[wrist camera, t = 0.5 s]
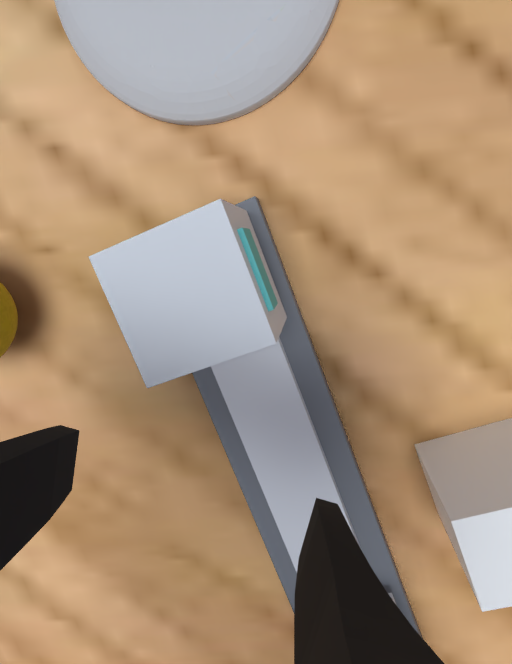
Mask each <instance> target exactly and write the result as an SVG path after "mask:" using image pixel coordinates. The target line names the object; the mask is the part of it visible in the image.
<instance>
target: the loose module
mask: <svg viewBox="0 0 512 664" xmlns="http://www.w3.org/2000/svg"><path fill="white" fill-rule="evenodd" d="M414 446H415V449H416V451H417V454H418V457H419V460H420V463H421V466H422V469H423V472H424V474H425V477H426V480H427V483H428V486H429V489H430V492H431V495H432V497H433V500H434V503H435V506H436V509H437V512H438V514H439V516H440V519H441V521H442V523H443V525H444V528H445V530H446V532H447V534H448V537H449V539H450V541H451V543H452V545H453V548H454V550H455V552H456V554H457V557H458V559H459V561H460V563H461V566H462V568H463V570H464V572H465V574H466V577H467V579H468V581H469V583H470V586H471V588H472V590H473V592H474V595H475V597H476V599H477V601H478V604H479V606H480V608H481V610H482V612H483V611H489V610H494V609H500V608H505V607H510V606H512V418H509V419H506V420H502V421H498V422H495V423H491V424H487V425H484V426H480V427H476V428H473V429H469V430H465V431H462V432H458V433H454V434H451V435H447V436H443V437H440V438H436V439H432V440H429V441H425V442H421V443H418V444H414Z"/></svg>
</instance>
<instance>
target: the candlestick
mask: <svg viewBox="0 0 512 664" xmlns="http://www.w3.org/2000/svg"><path fill="white" fill-rule="evenodd" d="M54 1H55V4H56V8H57V11H58V14H59V17H60V20H61V22H62V25H63V28H64V30H65V32H66V34H67V36H68V39H69V41H70V42H71V44H72V46H73V48H74V50H75V51H76V53H77V54H78V56H79V58H80V59H81V61H82V62H83V63H84V65H85V66H86V68H87V69H88V70H89V71H90V73H91V74H92V75H93V76H94V77H95V78H96V79H97V80H98V82H99V83H100V84H101V85H103V86H104V87H105V88H106V89H107V90H108V91H109V92H110V93H112V94H113V95H114V96H115V97H117V98H118V99H119V100H121V101H122V102H124V103H125V104H127V105H128V106H130V107H131V108H133V109H135V110H137V111H139V112H141V113H143V114H145V115H147V116H149V117H152V118H155V119H158V120H161V121H165V122H169V123H174V124H181V125H208V124H215V123H220V122H224V121H228V120H231V119H235V118H237V117H240V116H243V115H245V114H247V113H249V112H251V111H253V110H255V109H257V108H259V107H260V106H262V105H264V104H265V103H267V102H268V101H270V100H271V99H273V98H274V97H275V96H277V95H278V94H279V93H280V92H281V91H283V90H284V89H285V88H286V87H287V86H288V85H289V84H290V83H291V82H292V81H293V80H294V79H295V78H296V77H297V76H298V75H299V74H300V73H301V71H302V70H303V69H304V68H305V66H306V65H307V64H308V62H309V61H310V60H311V58H312V57H313V55H314V54H315V52H316V51H317V49H318V47H319V46H320V44H321V42H322V41H323V39H324V37H325V35H326V33H327V31H328V29H329V26H330V24H331V22H332V19H333V17H334V14H335V11H336V9H337V6H338V2H339V0H54Z"/></svg>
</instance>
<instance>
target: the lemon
mask: <svg viewBox="0 0 512 664" xmlns="http://www.w3.org/2000/svg"><path fill="white" fill-rule="evenodd" d="M17 324H18V314H17V309H16V305H15V303H14V301H13V298H12V296H11V295H10V293H9V292H8V290H7V289H6V288H5V286H4V285H3V284H2V283H1V282H0V357H1V356H2V355H3V354H4V353H5V352H6V351H7V350H8V348H9V346H10V345H11V343H12V341H13V339H14V337H15V334H16V330H17Z"/></svg>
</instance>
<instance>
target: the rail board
mask: <svg viewBox="0 0 512 664" xmlns="http://www.w3.org/2000/svg"><path fill="white" fill-rule="evenodd" d="M89 259H90V261H91V263H92V266H93V268H94V270H95V272H96V275H97V277H98V279H99V281H100V284H101V286H102V288H103V290H104V293H105V295H106V297H107V299H108V302H109V304H110V306H111V308H112V311H113V313H114V315H115V317H116V320H117V322H118V324H119V326H120V329H121V331H122V333H123V335H124V338H125V340H126V342H127V344H128V347H129V349H130V351H131V353H132V356H133V358H134V360H135V362H136V365H137V367H138V369H139V371H140V374H141V376H142V378H143V380H144V382H145V385H146V387H147V388H149V387H152V386H155V385H158V384H161V383H164V382H167V381H170V380H172V379H175V378H178V377H181V376H184V375H187V374H190V373H192V374H193V376H194V379H195V381H196V383H197V386H198V388H199V390H200V393H201V395H202V397H203V400H204V402H205V405H206V407H207V409H208V412H209V414H210V416H211V419H212V421H213V423H214V426H215V428H216V430H217V433H218V435H219V437H220V440H221V442H222V445H223V447H224V449H225V452H226V454H227V456H228V459H229V461H230V463H231V466H232V468H233V470H234V473H235V475H236V477H237V480H238V482H239V485H240V487H241V489H242V492H243V494H244V496H245V499H246V501H247V503H248V506H249V508H250V510H251V513H252V515H253V517H254V520H255V522H256V524H257V527H258V529H259V532H260V534H261V536H262V539H263V541H264V543H265V546H266V548H267V550H268V553H269V555H270V557H271V560H272V562H273V564H274V567H275V569H276V572H277V574H278V576H279V579H280V581H281V583H282V586H283V588H284V590H285V593H286V595H287V597H288V600H289V602H290V604H291V607H292V609H293V612H294V614H295V586H296V577H297V568H298V560H299V555H300V552H301V548H302V545H303V541H304V538H305V535H306V531H307V528H308V524H309V521H310V517H311V514H312V511H313V507H314V504H315V500H316V498H319V499H322V500H326V501H329V502H333V503H336V504H338V506H339V507H340V509H341V511H342V513H343V515H344V517H345V519H346V521H347V523H348V525H349V527H350V529H351V531H352V533H353V535H354V537H355V539H356V541H357V543H358V545H359V547H360V548H361V550H362V552H363V554H364V555H365V557H366V559H367V561H368V563H369V564H370V566H371V568H372V569H373V571H374V573H375V574H376V576H377V577H378V579H379V581H380V582H381V584H382V585H383V587H384V588H385V590H386V591H387V593H388V594H389V596H390V597H391V598H392V600H393V601H394V603H395V604H396V605H397V607H398V608H399V609H400V611H401V612H402V613H403V615H404V616H405V617H406V619H407V620H408V621H409V623H410V624H411V625H412V627H413V628H414V629H415V630H416V631H417V633H418V634H419V635H420V636H421V638H422V635H421V633H420V630H419V627H418V625H417V622H416V619H415V617H414V614H413V611H412V609H411V606H410V603H409V601H408V598H407V595H406V593H405V590H404V587H403V585H402V582H401V579H400V577H399V574H398V571H397V569H396V566H395V563H394V561H393V558H392V555H391V553H390V550H389V547H388V545H387V542H386V539H385V537H384V534H383V531H382V529H381V526H380V523H379V521H378V518H377V515H376V512H375V510H374V507H373V504H372V502H371V499H370V496H369V494H368V491H367V488H366V486H365V483H364V480H363V478H362V475H361V472H360V470H359V467H358V464H357V462H356V459H355V456H354V454H353V451H352V448H351V446H350V443H349V440H348V438H347V435H346V432H345V430H344V427H343V424H342V422H341V419H340V416H339V414H338V411H337V408H336V406H335V403H334V400H333V398H332V395H331V392H330V390H329V387H328V384H327V382H326V379H325V376H324V374H323V371H322V368H321V366H320V363H319V360H318V357H317V355H316V352H315V349H314V347H313V344H312V341H311V339H310V336H309V333H308V331H307V328H306V325H305V323H304V320H303V317H302V315H301V312H300V309H299V307H298V304H297V301H296V299H295V296H294V293H293V291H292V288H291V285H290V283H289V280H288V277H287V275H286V272H285V269H284V267H283V264H282V261H281V259H280V256H279V253H278V251H277V248H276V245H275V243H274V240H273V237H272V235H271V232H270V229H269V227H268V224H267V221H266V219H265V216H264V213H263V210H262V208H261V205H260V202H259V200H258V198H257V197H255V196H254V197H252V198H250V199H248V200H245V201H243V202H241V203H238V204H236V205H233V204H231V203H229V202H227V201H224V200H222V199H219V200H216V201H214V202H212V203H210V204H207V205H205V206H203V207H200V208H198V209H196V210H194V211H191V212H189V213H187V214H185V215H182V216H180V217H178V218H175V219H173V220H171V221H169V222H166V223H164V224H162V225H160V226H157V227H155V228H153V229H150V230H148V231H146V232H144V233H141V234H139V235H137V236H135V237H132V238H130V239H128V240H125V241H123V242H121V243H119V244H116V245H114V246H112V247H109V248H107V249H105V250H103V251H100V252H98V253H96V254H94V255H91V256H89ZM422 639H423V638H422Z"/></svg>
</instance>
